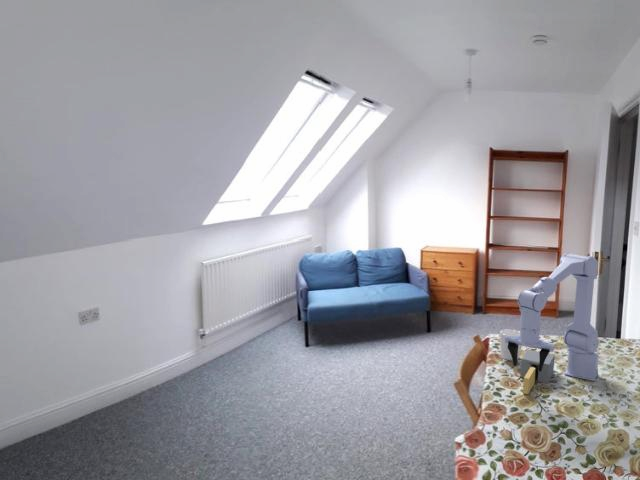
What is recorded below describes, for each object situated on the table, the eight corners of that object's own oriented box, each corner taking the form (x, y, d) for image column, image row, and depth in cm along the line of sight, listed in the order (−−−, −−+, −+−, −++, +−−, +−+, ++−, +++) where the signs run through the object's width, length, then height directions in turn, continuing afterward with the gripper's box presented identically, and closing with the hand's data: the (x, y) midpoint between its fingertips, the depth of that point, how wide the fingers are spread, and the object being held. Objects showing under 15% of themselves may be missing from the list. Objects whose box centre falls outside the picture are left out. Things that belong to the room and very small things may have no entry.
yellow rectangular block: (534, 383, 163) (535, 367, 163) (527, 394, 155) (528, 378, 155) (529, 381, 164) (530, 366, 163) (523, 393, 156) (523, 377, 155)
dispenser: (553, 372, 172) (554, 354, 170) (547, 384, 163) (548, 365, 162) (526, 367, 177) (527, 349, 176) (519, 377, 168) (520, 359, 167)
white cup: (522, 362, 181) (524, 336, 180) (500, 360, 183) (501, 335, 181) (518, 353, 189) (519, 329, 187) (497, 352, 190) (498, 328, 189)
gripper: (503, 327, 154) (501, 366, 156) (552, 335, 146) (549, 377, 148) (508, 321, 160) (507, 359, 162) (556, 329, 152) (553, 369, 154)
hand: (527, 367), depth 155 cm, fingers open, 7 cm apart
